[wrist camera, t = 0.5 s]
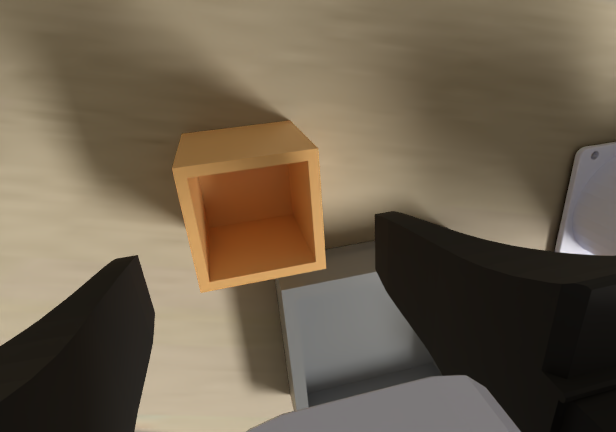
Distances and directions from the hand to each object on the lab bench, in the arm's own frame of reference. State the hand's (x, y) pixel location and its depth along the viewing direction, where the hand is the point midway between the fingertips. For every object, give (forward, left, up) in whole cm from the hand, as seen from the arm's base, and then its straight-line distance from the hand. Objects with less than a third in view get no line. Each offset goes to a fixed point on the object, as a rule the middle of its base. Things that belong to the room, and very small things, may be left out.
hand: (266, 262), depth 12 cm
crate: (-6, +10, -8) cm, 14 cm away
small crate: (0, 0, -8) cm, 8 cm away
